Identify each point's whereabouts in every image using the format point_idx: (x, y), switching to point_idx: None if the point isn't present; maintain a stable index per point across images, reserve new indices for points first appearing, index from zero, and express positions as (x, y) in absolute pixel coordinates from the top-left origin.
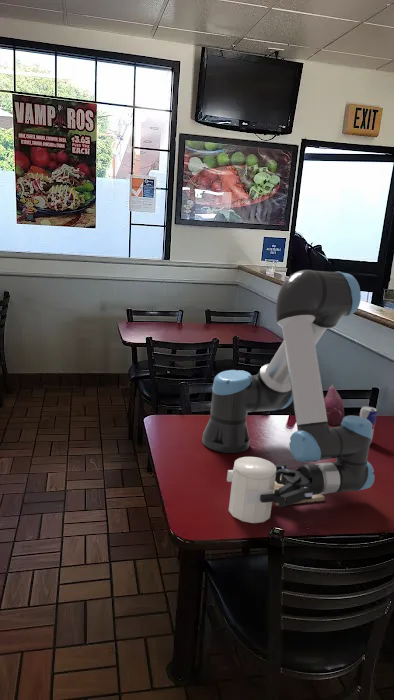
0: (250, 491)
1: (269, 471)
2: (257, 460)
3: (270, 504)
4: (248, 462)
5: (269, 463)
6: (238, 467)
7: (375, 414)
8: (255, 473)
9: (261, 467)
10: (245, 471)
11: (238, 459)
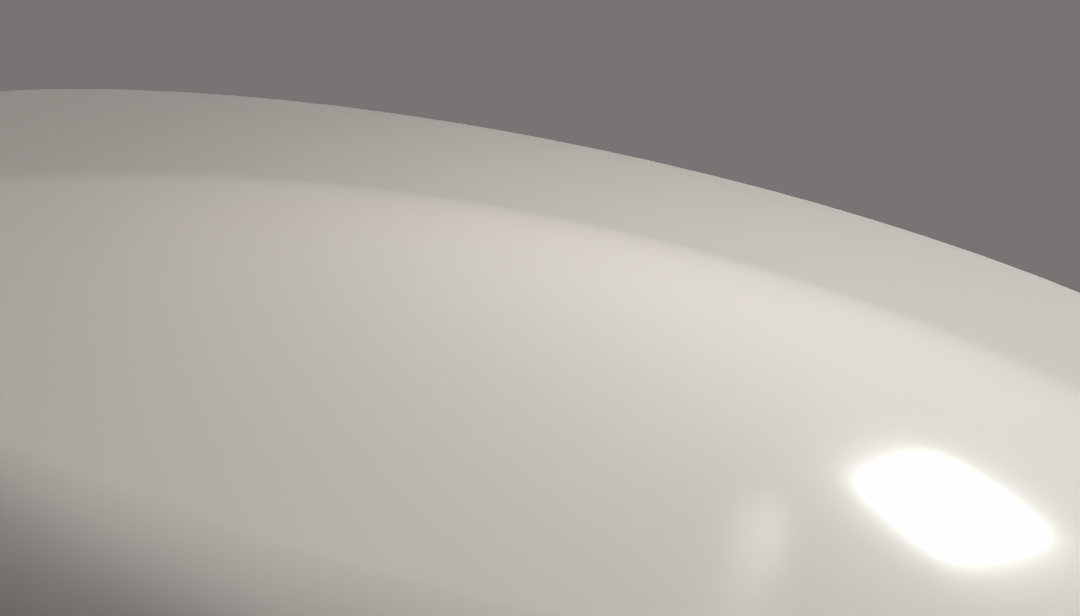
0: None
1: (3, 208)
2: (1044, 385)
3: None
4: (808, 256)
5: (859, 531)
6: (542, 143)
7: None
8: (165, 115)
9: (439, 242)
10: (345, 115)
11: (933, 244)
